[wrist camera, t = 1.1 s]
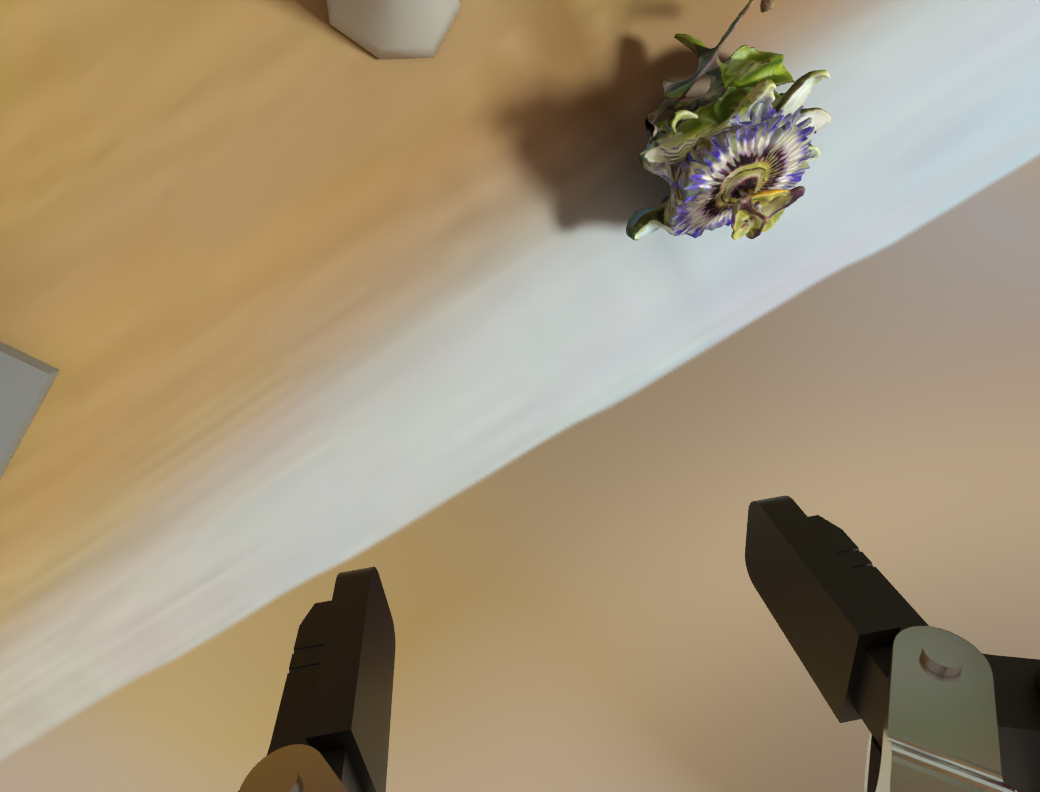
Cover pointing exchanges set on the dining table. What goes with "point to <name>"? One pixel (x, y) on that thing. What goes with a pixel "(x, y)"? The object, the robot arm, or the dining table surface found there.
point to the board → (19, 396)
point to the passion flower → (730, 143)
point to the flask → (394, 25)
